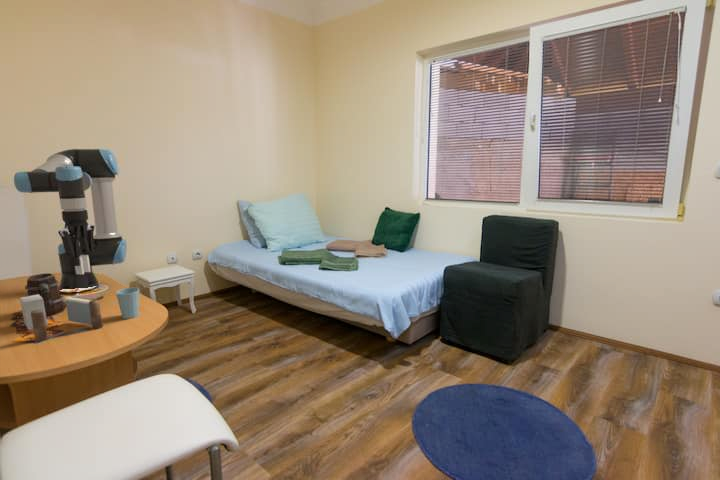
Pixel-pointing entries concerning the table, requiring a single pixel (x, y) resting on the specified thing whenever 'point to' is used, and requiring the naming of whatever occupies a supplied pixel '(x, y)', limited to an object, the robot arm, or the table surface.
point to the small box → (31, 308)
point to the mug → (46, 292)
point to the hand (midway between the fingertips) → (83, 272)
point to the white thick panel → (78, 310)
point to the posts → (41, 332)
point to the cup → (128, 302)
